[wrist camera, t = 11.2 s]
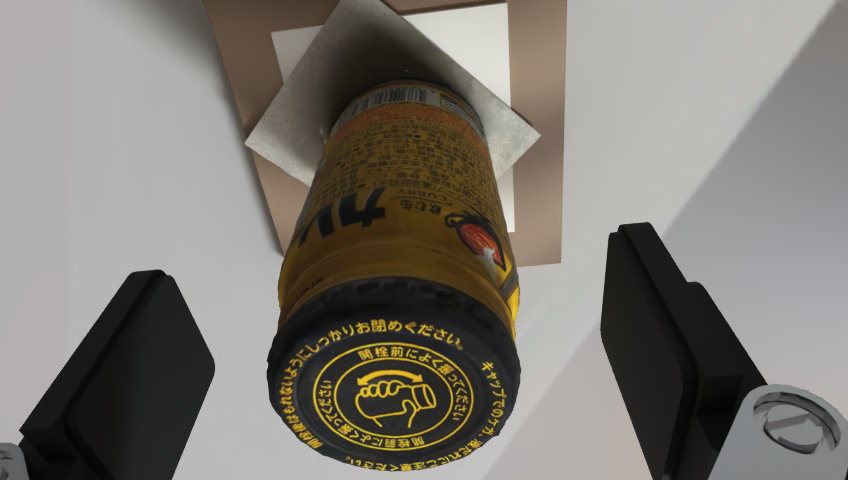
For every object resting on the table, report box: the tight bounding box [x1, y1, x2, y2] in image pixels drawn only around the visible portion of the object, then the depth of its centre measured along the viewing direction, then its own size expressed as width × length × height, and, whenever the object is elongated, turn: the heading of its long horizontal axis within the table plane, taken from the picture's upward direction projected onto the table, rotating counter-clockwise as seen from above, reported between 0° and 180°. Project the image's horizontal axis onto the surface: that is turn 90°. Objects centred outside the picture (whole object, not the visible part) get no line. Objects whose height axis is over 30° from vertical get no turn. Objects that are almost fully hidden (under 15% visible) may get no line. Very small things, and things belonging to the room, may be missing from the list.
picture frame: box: [203, 0, 567, 267], centre depth 21 cm, size 13×12×2 cm
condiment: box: [244, 0, 541, 471], centre depth 16 cm, size 7×8×12 cm
